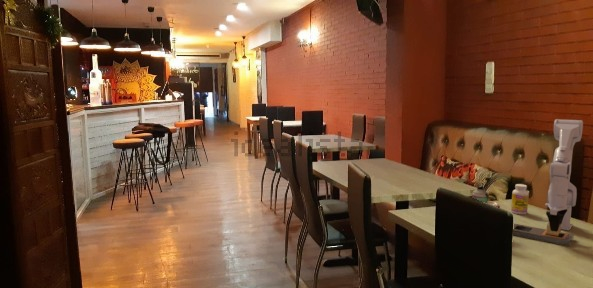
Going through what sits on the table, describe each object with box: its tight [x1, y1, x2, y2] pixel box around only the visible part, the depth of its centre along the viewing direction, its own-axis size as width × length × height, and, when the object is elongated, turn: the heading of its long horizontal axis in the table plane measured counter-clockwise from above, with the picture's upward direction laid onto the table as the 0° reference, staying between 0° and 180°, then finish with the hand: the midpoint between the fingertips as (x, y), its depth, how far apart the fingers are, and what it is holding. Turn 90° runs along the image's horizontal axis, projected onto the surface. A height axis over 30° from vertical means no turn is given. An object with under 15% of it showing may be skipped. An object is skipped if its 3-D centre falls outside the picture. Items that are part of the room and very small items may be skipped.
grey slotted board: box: [512, 223, 575, 247], centre depth 174 cm, size 9×22×2 cm, turn 51°
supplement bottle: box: [510, 183, 530, 215], centre depth 205 cm, size 7×7×13 cm
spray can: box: [471, 184, 489, 203], centre depth 172 cm, size 6×6×20 cm
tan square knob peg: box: [546, 222, 562, 237], centre depth 170 cm, size 4×4×6 cm
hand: (555, 229), depth 170 cm, fingers open, 5 cm apart
